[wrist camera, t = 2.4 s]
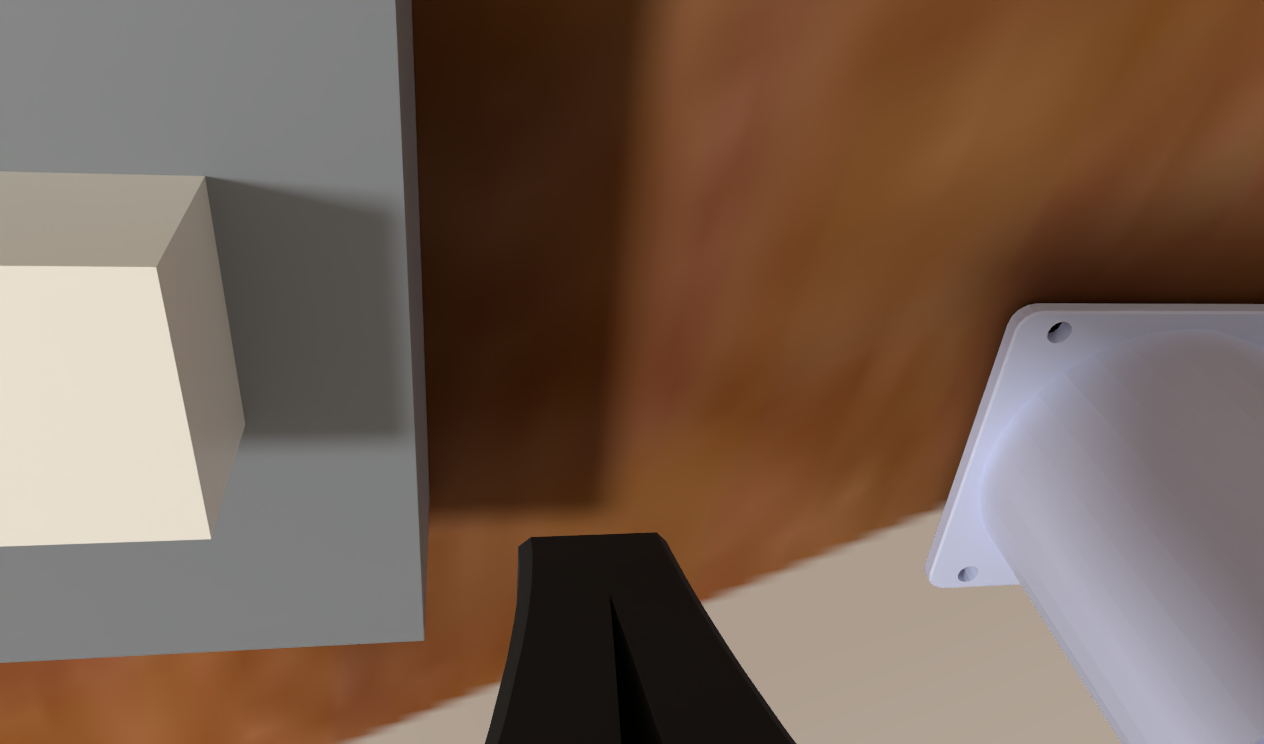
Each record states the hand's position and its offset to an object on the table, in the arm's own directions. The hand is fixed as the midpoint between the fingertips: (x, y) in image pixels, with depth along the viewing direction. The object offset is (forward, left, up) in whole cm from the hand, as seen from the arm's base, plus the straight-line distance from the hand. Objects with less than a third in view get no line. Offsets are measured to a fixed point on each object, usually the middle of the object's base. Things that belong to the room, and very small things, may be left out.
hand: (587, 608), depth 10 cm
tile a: (+6, 0, -6) cm, 9 cm away
